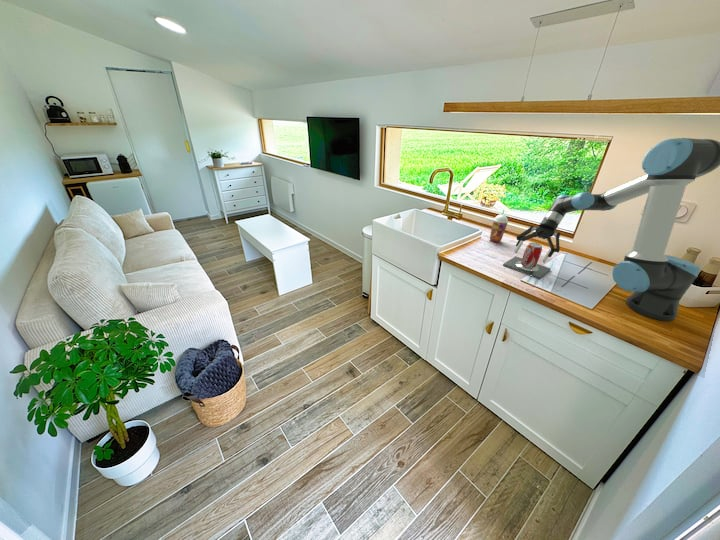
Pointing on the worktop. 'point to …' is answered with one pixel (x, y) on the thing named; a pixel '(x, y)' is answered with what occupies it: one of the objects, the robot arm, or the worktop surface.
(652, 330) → the worktop surface
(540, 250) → the soda can
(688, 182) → the robot arm
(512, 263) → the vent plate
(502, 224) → the smoothie
